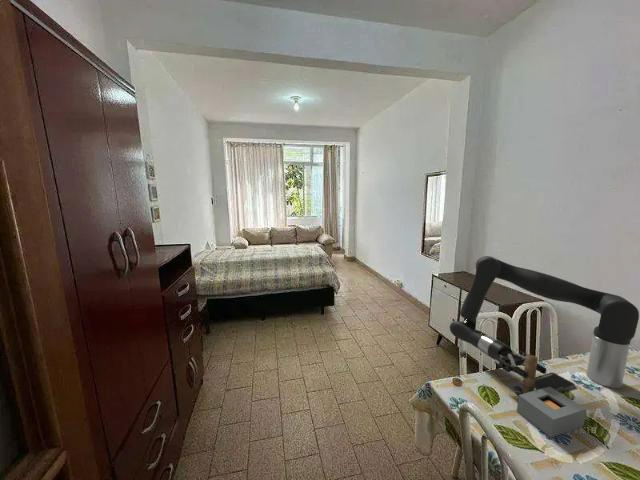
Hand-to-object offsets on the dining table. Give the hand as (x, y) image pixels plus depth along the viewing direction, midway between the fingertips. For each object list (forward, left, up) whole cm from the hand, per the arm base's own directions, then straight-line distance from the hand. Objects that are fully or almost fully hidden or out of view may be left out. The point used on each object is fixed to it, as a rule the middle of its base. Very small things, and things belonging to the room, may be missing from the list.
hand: (536, 373), depth 90 cm
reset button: (+5, +8, -8) cm, 13 cm away
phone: (-13, -3, -10) cm, 16 cm away
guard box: (+5, +8, -9) cm, 13 cm away
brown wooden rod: (0, -2, -9) cm, 9 cm away
